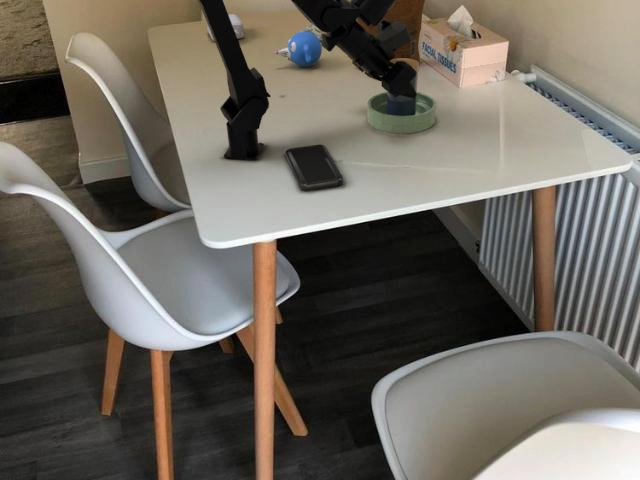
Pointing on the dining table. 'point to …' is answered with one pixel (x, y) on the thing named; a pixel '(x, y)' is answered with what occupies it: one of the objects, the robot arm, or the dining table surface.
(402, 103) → the canister
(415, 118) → the bowl
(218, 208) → the dining table surface
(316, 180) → the phone
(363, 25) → the pancake mix bag
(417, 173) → the dining table surface
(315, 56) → the blue mole toy
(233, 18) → the charger
